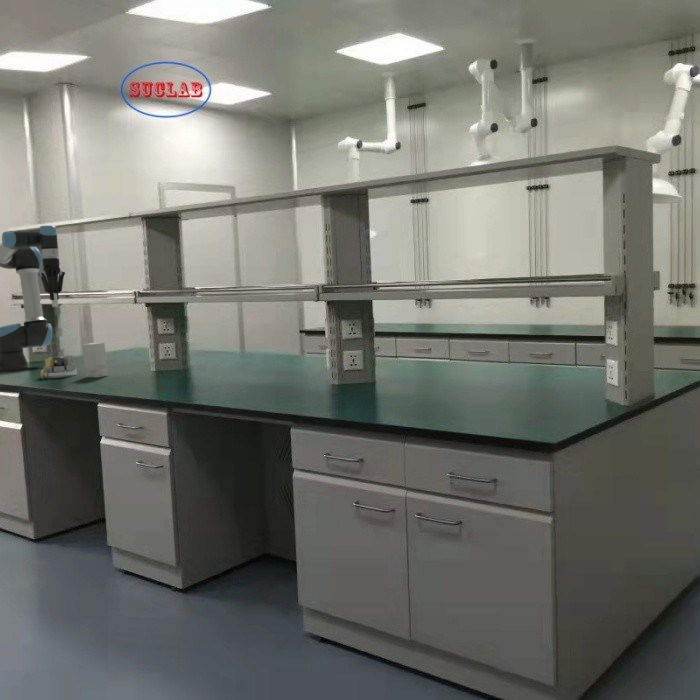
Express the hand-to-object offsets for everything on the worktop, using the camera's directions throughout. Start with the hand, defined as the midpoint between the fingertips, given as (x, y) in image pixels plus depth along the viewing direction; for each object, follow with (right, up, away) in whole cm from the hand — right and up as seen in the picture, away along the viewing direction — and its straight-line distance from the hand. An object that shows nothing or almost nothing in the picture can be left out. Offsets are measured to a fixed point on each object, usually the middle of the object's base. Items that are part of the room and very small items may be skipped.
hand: (55, 306), depth 370 cm
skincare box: (+26, -34, -17) cm, 46 cm away
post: (0, -34, -15) cm, 38 cm away
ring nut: (+5, -31, -8) cm, 32 cm away
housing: (+6, -33, -8) cm, 35 cm away
